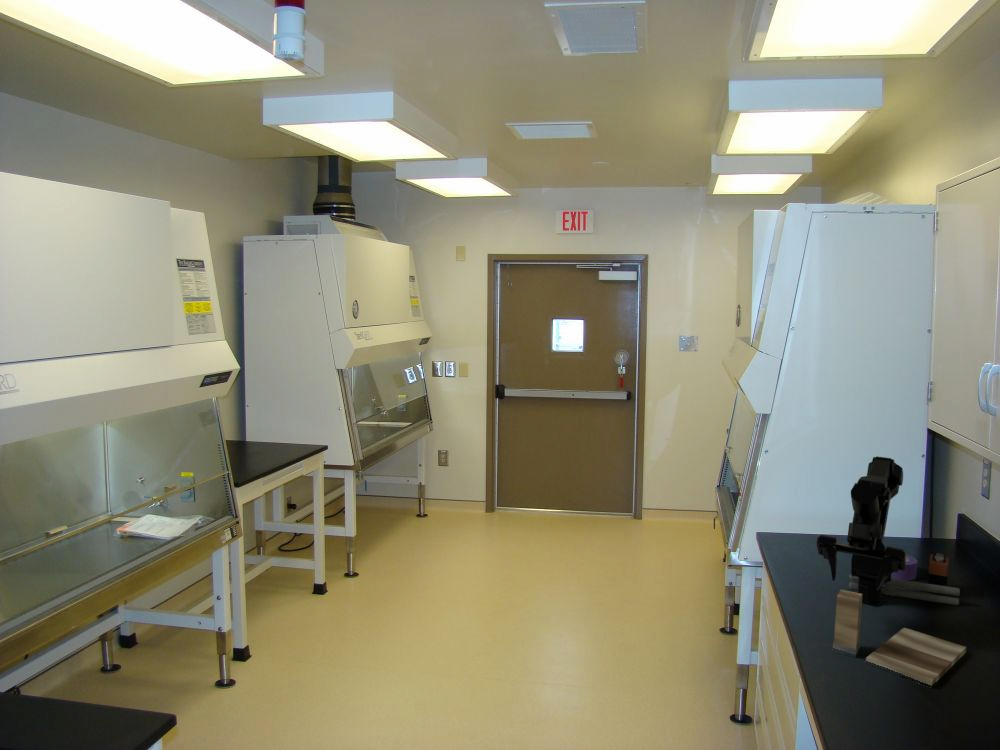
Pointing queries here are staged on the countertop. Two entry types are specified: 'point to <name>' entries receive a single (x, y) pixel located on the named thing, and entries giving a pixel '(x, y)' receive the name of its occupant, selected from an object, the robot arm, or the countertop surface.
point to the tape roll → (907, 570)
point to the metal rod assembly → (892, 591)
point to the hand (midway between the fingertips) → (854, 584)
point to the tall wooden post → (847, 621)
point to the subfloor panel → (917, 655)
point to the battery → (938, 571)
